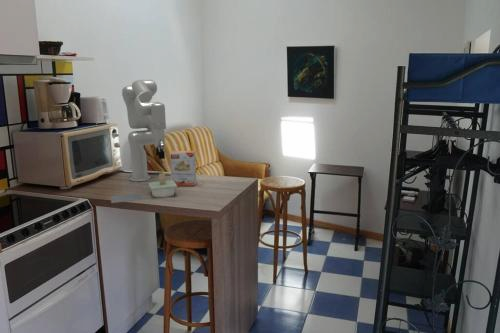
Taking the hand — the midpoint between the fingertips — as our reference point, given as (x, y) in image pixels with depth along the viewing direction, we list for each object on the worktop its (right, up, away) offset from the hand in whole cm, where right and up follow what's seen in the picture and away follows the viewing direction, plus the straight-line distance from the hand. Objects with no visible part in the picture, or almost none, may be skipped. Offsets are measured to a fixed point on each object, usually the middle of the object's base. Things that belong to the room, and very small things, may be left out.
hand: (160, 156), depth 229 cm
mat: (-18, -23, -2) cm, 29 cm away
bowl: (+1, -21, +4) cm, 22 cm away
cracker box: (+9, -17, +24) cm, 31 cm away
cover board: (0, -16, +3) cm, 17 cm away
